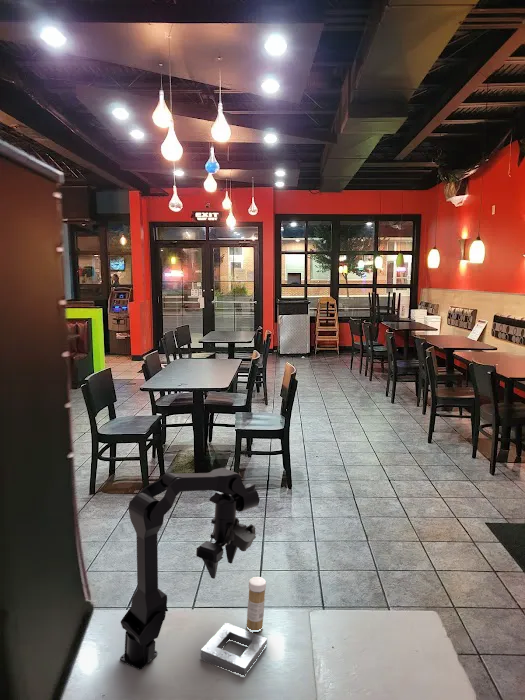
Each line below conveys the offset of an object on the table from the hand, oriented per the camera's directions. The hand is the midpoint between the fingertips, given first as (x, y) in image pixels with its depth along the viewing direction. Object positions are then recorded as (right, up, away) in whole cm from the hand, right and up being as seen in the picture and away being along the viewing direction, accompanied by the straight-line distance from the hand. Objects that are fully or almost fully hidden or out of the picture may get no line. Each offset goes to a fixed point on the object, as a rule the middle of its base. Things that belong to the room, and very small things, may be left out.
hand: (221, 570), depth 135 cm
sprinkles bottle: (+9, -14, -4) cm, 17 cm away
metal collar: (+4, -15, -14) cm, 20 cm away
